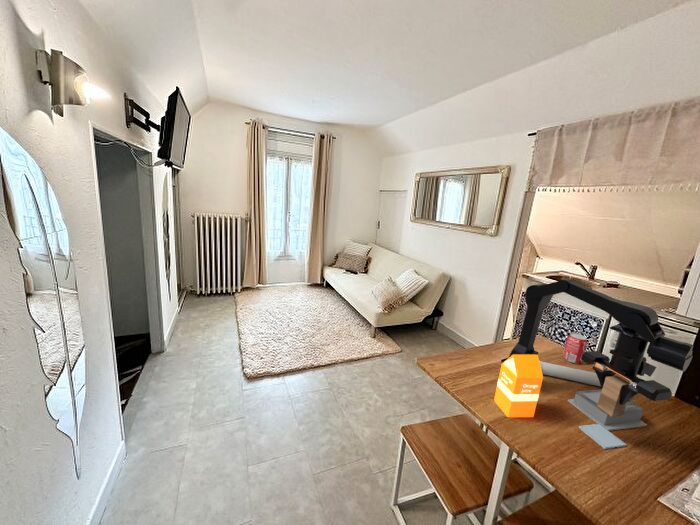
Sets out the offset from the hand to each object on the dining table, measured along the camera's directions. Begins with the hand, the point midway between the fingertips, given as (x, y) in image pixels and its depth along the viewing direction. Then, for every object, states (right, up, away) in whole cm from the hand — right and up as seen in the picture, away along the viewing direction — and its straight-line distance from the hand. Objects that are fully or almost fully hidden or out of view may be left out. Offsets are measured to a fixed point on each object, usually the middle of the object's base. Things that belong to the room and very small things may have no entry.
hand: (613, 399), depth 79 cm
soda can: (+24, -5, +44) cm, 51 cm away
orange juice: (-22, -9, +12) cm, 27 cm away
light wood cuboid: (0, -4, +1) cm, 4 cm away
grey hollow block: (+9, -11, +13) cm, 19 cm away
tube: (+13, -8, +30) cm, 34 cm away
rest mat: (-1, -13, +3) cm, 13 cm away
